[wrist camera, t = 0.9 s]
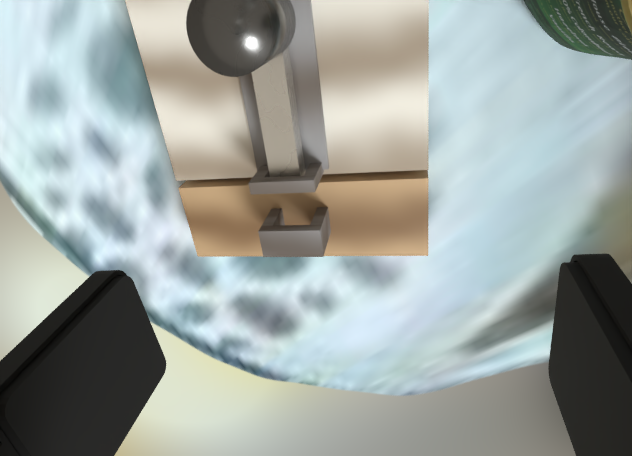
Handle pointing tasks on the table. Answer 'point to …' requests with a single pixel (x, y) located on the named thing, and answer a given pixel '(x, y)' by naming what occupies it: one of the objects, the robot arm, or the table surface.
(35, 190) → the table surface
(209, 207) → the lock board
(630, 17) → the coffee jar
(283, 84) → the dark metal knob
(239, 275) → the table surface
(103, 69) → the table surface
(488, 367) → the table surface
